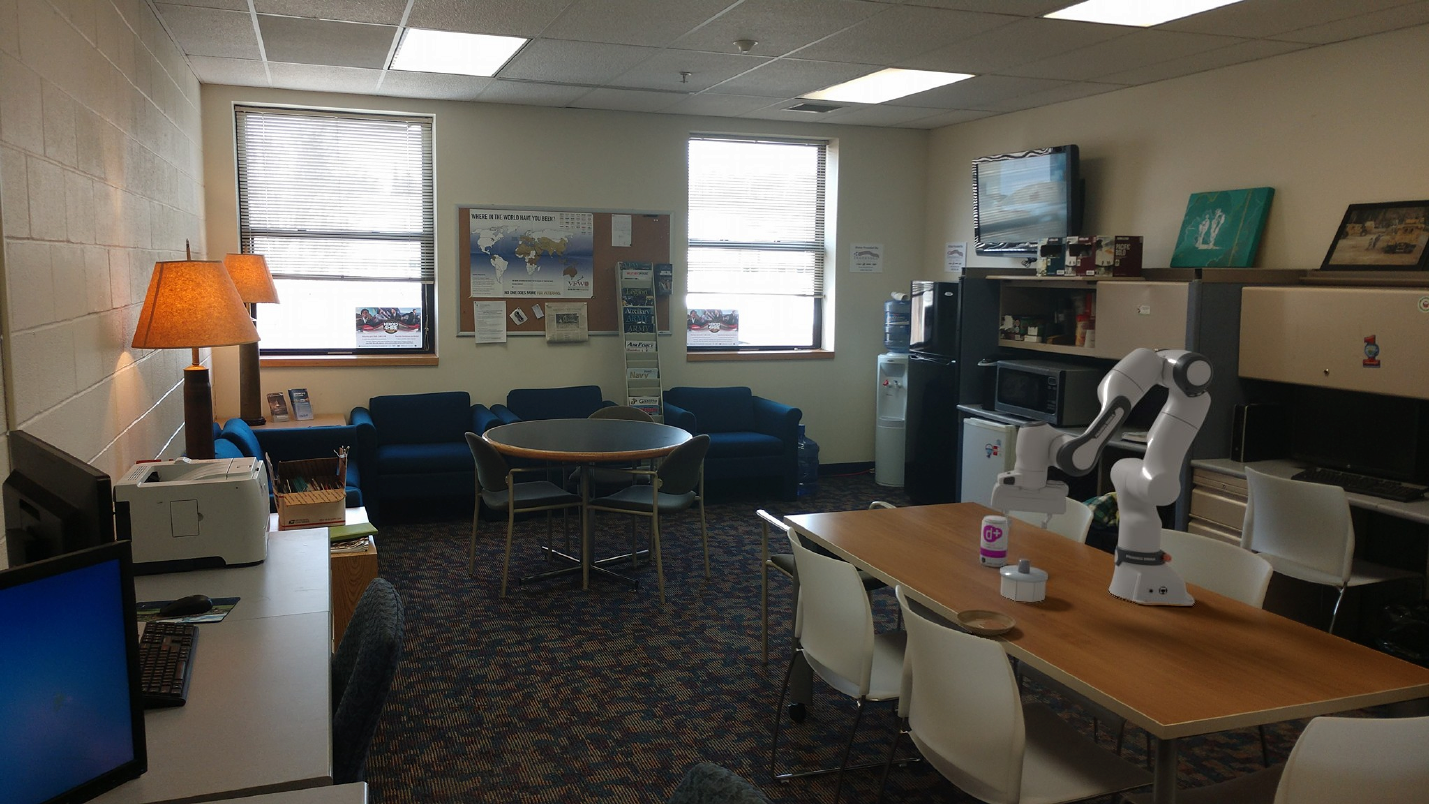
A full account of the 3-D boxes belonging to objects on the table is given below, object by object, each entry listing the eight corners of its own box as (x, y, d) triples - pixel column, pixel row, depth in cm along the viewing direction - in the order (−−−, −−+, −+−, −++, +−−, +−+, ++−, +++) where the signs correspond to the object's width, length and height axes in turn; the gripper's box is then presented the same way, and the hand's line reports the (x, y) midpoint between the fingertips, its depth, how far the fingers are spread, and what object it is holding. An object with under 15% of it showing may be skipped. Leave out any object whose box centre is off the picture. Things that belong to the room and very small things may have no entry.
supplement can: (1000, 569, 299) (1003, 522, 298) (975, 564, 304) (978, 518, 302) (1010, 563, 306) (1013, 517, 304) (985, 558, 311) (988, 513, 309)
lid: (1044, 571, 278) (1045, 555, 277) (1050, 584, 265) (1051, 568, 265) (998, 567, 281) (999, 552, 280) (1001, 580, 268) (1002, 564, 267)
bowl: (1041, 591, 278) (1042, 571, 277) (1046, 604, 267) (1047, 583, 266) (999, 587, 280) (1000, 567, 280) (1002, 600, 269) (1004, 579, 269)
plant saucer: (958, 636, 241) (958, 626, 241) (953, 616, 255) (953, 607, 255) (1018, 641, 239) (1019, 631, 238) (1010, 621, 253) (1011, 611, 253)
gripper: (1067, 479, 270) (1063, 527, 272) (992, 474, 275) (988, 521, 276) (1070, 483, 264) (1066, 532, 266) (993, 478, 269) (990, 526, 270)
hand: (1026, 526), depth 271 cm, fingers open, 8 cm apart
